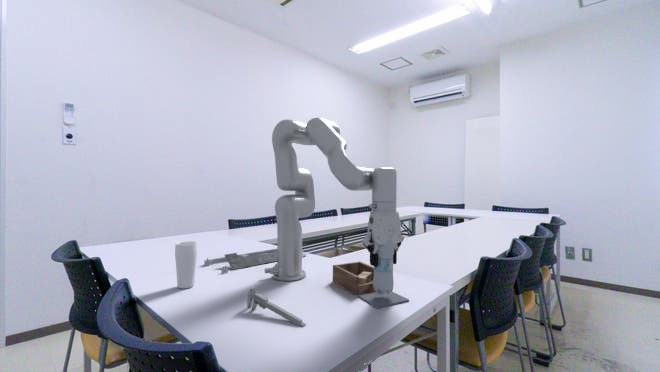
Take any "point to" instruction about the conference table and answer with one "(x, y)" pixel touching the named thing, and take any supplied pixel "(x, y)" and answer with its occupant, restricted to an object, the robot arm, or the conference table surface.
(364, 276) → the offcut upper
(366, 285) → the open wooden box
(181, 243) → the drinking glass
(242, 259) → the paper cutter
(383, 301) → the mat
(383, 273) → the bottle
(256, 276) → the conference table surface
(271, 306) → the caliper
